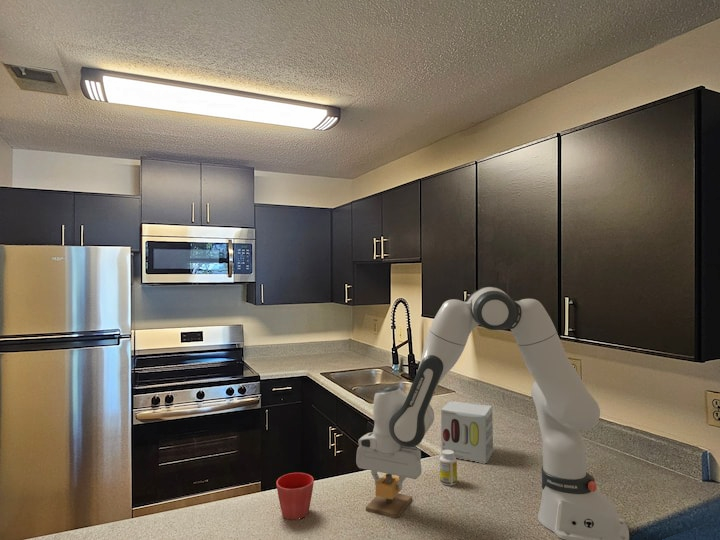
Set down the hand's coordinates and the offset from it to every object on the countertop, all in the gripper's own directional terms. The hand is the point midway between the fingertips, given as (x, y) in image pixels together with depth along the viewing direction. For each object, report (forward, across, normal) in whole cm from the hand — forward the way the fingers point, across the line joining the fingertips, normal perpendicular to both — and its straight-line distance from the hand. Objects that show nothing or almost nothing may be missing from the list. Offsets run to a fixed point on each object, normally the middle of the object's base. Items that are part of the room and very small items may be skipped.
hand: (388, 487), depth 139 cm
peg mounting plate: (+5, 0, 0) cm, 5 cm away
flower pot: (+6, +23, +16) cm, 28 cm away
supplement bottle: (+6, -12, -22) cm, 26 cm away
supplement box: (+6, -12, -48) cm, 50 cm away
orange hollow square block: (+2, 0, 0) cm, 2 cm away
